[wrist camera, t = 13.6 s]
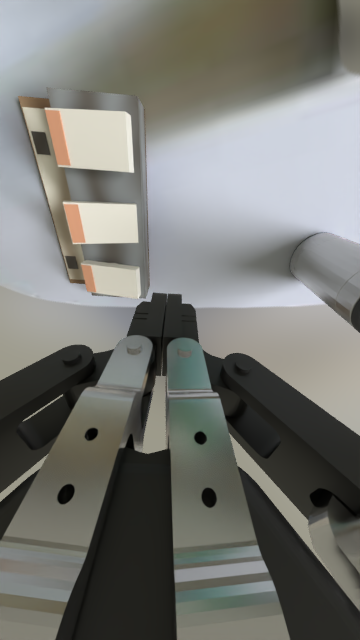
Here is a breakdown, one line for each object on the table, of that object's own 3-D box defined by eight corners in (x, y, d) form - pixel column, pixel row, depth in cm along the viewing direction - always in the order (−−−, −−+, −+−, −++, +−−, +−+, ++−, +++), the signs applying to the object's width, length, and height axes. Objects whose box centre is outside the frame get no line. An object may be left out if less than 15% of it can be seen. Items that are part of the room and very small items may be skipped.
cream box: (141, 265, 32) (135, 270, 30) (142, 292, 35) (137, 299, 33) (89, 258, 33) (80, 263, 31) (94, 285, 36) (86, 292, 34)
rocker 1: (133, 117, 22) (124, 110, 20) (136, 172, 25) (128, 172, 23) (59, 113, 23) (43, 107, 21) (70, 167, 26) (57, 166, 24)
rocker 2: (134, 202, 29) (136, 204, 27) (136, 238, 32) (138, 243, 30) (65, 199, 26) (62, 202, 24) (74, 239, 29) (72, 244, 27)
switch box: (144, 109, 27) (137, 95, 22) (149, 285, 42) (145, 298, 37) (23, 98, 26) (-10, 82, 22) (72, 280, 41) (59, 293, 37)
